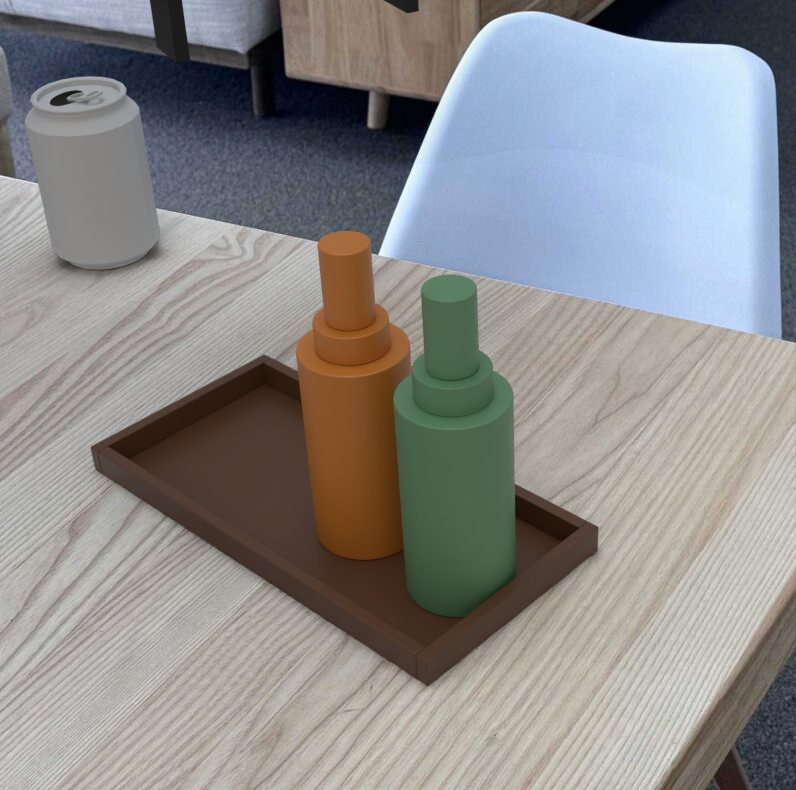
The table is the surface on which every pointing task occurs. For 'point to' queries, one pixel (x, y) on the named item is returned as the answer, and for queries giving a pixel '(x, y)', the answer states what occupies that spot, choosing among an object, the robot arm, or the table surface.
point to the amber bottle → (352, 405)
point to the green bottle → (455, 459)
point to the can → (92, 172)
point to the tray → (295, 522)
